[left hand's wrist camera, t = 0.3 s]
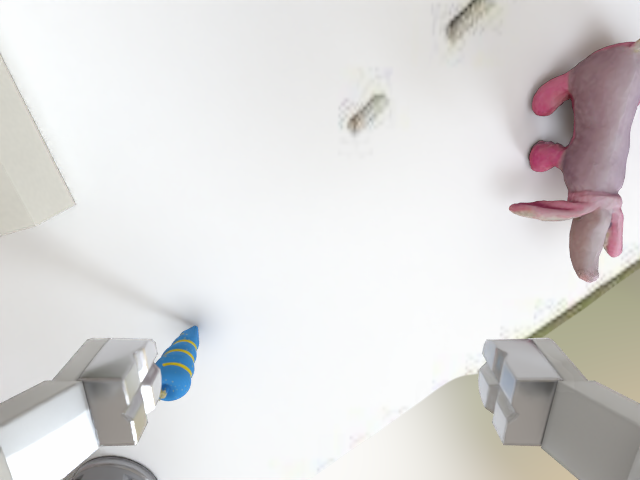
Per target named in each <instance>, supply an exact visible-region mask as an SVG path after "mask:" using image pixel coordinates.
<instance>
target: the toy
mask: <svg viewBox="0 0 640 480" xmlns="http://www.w3.org/2000/svg"><path fill="white" fill-rule="evenodd" d="M570 98H571V101H572V108H573V112H574V131H573V137H572V138H571V140H570V143H569V145H567V146H566V147H564V146H563V145H561V144H559V143H556V144H554V143H553V142H552V141H550V142H544V141H538V142H537V143H536V144H535V145H534V146H533V147H532V150H531V152H530V154H529V161H530V166H531V169H532V170H533V171H536V172H544V171H547V170H549V169H551V168H553V167H554V166H556V167H557V168H559V169H560V170H561V171H562V172H563V174H564V181H565V183H566V186H567V188H568V200H567V201H564V200H559V201H536V202H531V203H518V204H512V205H511V206H510V207H509V210H510V211H511V212H512V213H514V214H517V215H519V216H523V217H528V218H534V219H539V220H542V221H563V220H569V219H572V218H573V221H572V225H571V230H570V240H569V249H570V258H571V261H572V265H573V268H574V270H575V272H576V274H577V275H578V277H579V278H580V279H582V280H584V281H586V282H590V283H591V282H593V281H596V280H597V279H598V278H599V273H598V260H599V255H600V253H601V251H602V248H603V247H604V249H605V250H606V252H607V253H608V254H609V255H610V256H611V257H617V256H619V255H620V254H621V253H622V247H623V245H622V234H623V219H624V218H623V213H622V211H621V206H622V199H621V197H620V195H619V194H618V191H619V190H620V189H621V188H622V185H623V182H624V179H625V170H626V160H627V156H628V153H629V147H630V129H631V125H632V122H633V119H634V115H635V112H636V109H637V106H638V105H639V104H640V39H639V40H637V41H636V42H625V43H618V44H614V45H611V46H607V47H604V48H602V49H600V50H598V51H596V52H594V53H592V54H591V55H590V56H588V57H587V58H586V59H584V60H583V61H581V62H580V63H579V64H578V65H577V66H575V67H574V68H573V69H571V70H570V71H568V72H567V73H565V74H563V75H560V76H558V77H555V78H553V79H551V80H549V81H548V82H547V83H545V84H543V85H542V86H541V87H540V88H539V89H538V90H537V92H536V94H535V95H534V97H533V101H532V110H533V112H534V113H535V114H536V115H539V116H548V115H550V114H552V113H553V112H554V111H555V110H556V109H557V108H558V107H559V106H560V105H561V104H563V101H566V100H569V99H570Z"/></svg>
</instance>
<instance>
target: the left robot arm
mask: <svg viewBox="0 0 640 480" xmlns="http://www.w3.org/2000/svg"><path fill="white" fill-rule="evenodd" d="M157 354H158V353H157V348H156V343H155V342H154V341H153V340H152V339H126V338H112V339H111V338H92V339H88V340H87V341H86V342H85V343H84V344H83V345H82V346H81V347H80V349H79V350H78V351H77V352H76V353H75V354H74V356H73V357H72V358H71V359H70V360H69V361H68V362H67V364H66V365H65V366H64V367H63V368H62V369H61V371H60V372H59V373H58V374H57V375H56V376H55V378H54V379H53V380H52V381H44V382H42V383H40V384H38V385H36V386H34V387H32V388H30V389H28V390H26V391H24V392H22V393H20V394H18V395H16V396H14V397H12V398H10V399H8V400H6V401H4V402H2V403H0V480H62V479H63V478H64V477H65V476H66V475H68V474H69V473H70V472H71V471H72V470H74V469H75V468H76V467H77V466H78V465H79V464H81V463H82V462H83V461H84V460H85V459H87V458H88V457H89V456H90V455H91V454H92V453H94V452H95V451H96V450H97V449H98V448H99V446H119V445H137V443H138V441H139V439H140V437H141V435H142V433H143V431H144V429H145V427H146V425H147V423H148V421H147V415H146V414H147V413H149V412H150V411H151V410H153V409H154V408H155V406H156V404H157V402H158V400H159V396H160V391H161V379H162V377H161V371H160V368H159V367H158V366H157V365H156V364H155V363H154V362H153V361H154V360H155V358H156V356H157ZM482 354H483V356H484V358H485V360H486V361H487V362H486V363H485V364H484V365H483V366H482V367H481V368H480V371H479V379H478V382H479V393H480V396H481V400H482V402H483V404H484V406H485V408H486V409H487V410H489V411H490V412H491V413H493V414H494V416H493V421H492V423H493V425H494V427H495V429H496V431H497V433H498V435H499V437H500V439H501V441H502V443H503V445H520V446H541V448H542V449H543V450H544V451H545V452H547V453H548V454H549V455H550V456H551V457H552V458H554V459H555V460H556V461H557V462H558V463H560V464H561V465H562V466H563V467H564V468H565V469H567V470H568V471H569V472H570V473H571V474H573V475H574V476H575V477H576V478H577V479H578V480H640V403H638V402H636V401H634V400H632V399H630V398H628V397H626V396H624V395H622V394H620V393H618V392H616V391H614V390H612V389H610V388H608V387H606V386H604V385H602V384H600V383H598V382H596V381H588V380H587V379H586V378H585V376H584V375H583V374H582V373H581V372H580V371H579V369H578V368H577V367H576V366H575V365H574V364H573V363H572V361H571V360H570V359H569V358H568V357H567V356H566V354H565V353H564V352H563V351H562V350H561V349H560V347H559V346H558V345H557V344H556V343H555V342H554V341H553V340H552V339H550V338H529V339H493V340H486V342H485V344H484V347H483V353H482Z"/></svg>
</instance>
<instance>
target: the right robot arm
mask: <svg viewBox="0 0 640 480" xmlns="http://www.w3.org/2000/svg"><path fill="white" fill-rule="evenodd" d="M72 480H157V479H156V478H155V476H154V475H153V474H152V473H151V472H150V471H149V470H147V469H146V468H145V467H143V466H142V465H140V464H138V463H136V462H134V461H131V460H128V459H124V458H119V457H101V458H96V459H93V460H91V461H88V462H86V463H85V464H83V465H82V466H81V467H80V468H79V469H78V471H77V472H76V474H75V475H74V477H73V479H72Z"/></svg>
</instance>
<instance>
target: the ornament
mask: <svg viewBox="0 0 640 480" xmlns="http://www.w3.org/2000/svg"><path fill="white" fill-rule="evenodd" d="M198 346H199V335H198V327H197V326H193V327H191V328H189V329H187V330H185V331H183V332H182V333H181V334H180V336H179V337H178V338H177V339H176V340H175V341H174V342H173V343H172V345H171V346H170V347H169V348H167V349H166V350H165V352H164V353H163V355H162V356H161V358H160V359H159V360H158V361H157V362H156V363H155V364H156V365H157V366H158V367H159V368H160V371H161V377H162V379H161V391H160V396H159V401H160V400H164V401H173V400H176V399H179V398H181V397H182V396H184V395H185V394H186V393H187V392H188V390H189V388H190V385H191V378H192V376H193V374H194V363H195V360H196V351H197V349H198Z"/></svg>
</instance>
